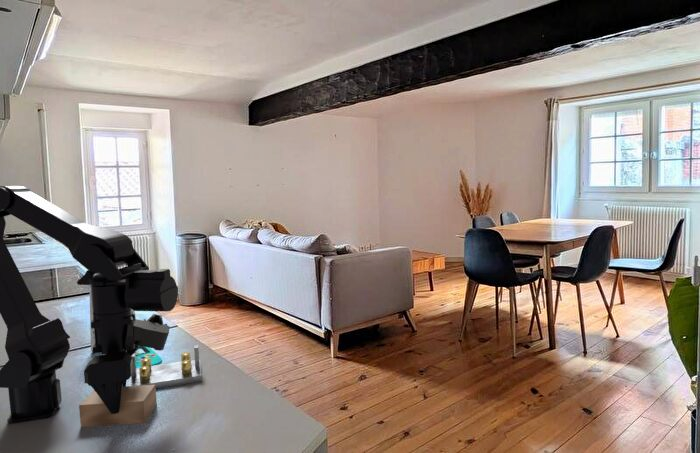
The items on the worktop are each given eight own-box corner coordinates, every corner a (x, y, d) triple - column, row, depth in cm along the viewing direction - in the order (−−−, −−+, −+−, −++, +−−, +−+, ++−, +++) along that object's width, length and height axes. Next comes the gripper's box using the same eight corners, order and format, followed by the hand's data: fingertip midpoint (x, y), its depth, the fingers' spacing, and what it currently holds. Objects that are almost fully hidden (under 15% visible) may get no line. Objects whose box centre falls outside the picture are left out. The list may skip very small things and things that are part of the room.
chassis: (128, 393, 86) (126, 364, 85) (133, 374, 94) (131, 347, 94) (201, 381, 90) (200, 353, 90) (199, 364, 99) (198, 339, 98)
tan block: (81, 428, 74) (79, 405, 74) (97, 410, 80) (95, 388, 80) (145, 424, 75) (143, 401, 75) (156, 406, 81) (155, 384, 81)
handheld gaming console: (123, 370, 94) (106, 350, 106) (123, 375, 94) (106, 355, 106) (164, 360, 100) (144, 342, 111) (165, 364, 100) (144, 346, 111)
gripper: (163, 320, 70) (169, 417, 71) (166, 292, 87) (171, 371, 89) (79, 329, 66) (87, 432, 68) (100, 298, 83) (106, 381, 85)
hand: (118, 400), depth 77 cm, fingers open, 9 cm apart
